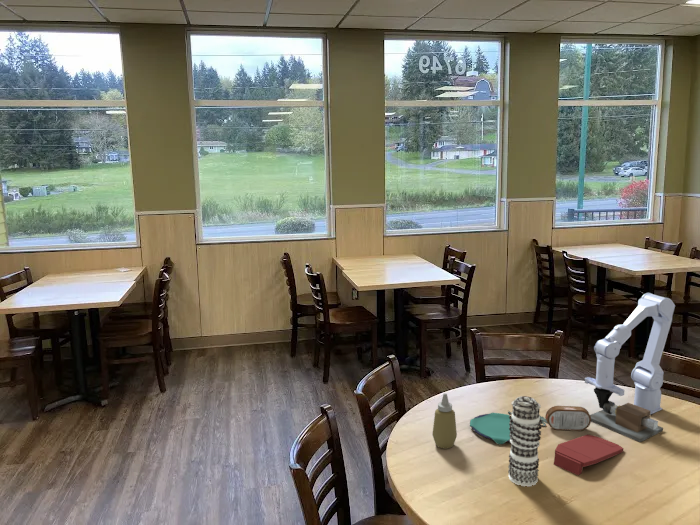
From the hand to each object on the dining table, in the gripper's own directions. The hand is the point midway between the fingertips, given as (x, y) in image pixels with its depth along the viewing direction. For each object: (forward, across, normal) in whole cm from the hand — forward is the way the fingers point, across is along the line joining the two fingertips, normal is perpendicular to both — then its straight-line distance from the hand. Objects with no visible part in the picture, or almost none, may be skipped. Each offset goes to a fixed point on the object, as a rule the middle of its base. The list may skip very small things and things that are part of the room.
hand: (602, 407), depth 202 cm
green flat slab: (+4, -13, -34) cm, 37 cm away
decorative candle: (+4, +12, -56) cm, 57 cm away
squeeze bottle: (+4, -16, -62) cm, 64 cm away
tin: (+4, 0, -19) cm, 19 cm away
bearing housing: (+3, +9, 0) cm, 9 cm away
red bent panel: (+4, +14, -29) cm, 32 cm away
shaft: (+1, +11, 0) cm, 11 cm away
